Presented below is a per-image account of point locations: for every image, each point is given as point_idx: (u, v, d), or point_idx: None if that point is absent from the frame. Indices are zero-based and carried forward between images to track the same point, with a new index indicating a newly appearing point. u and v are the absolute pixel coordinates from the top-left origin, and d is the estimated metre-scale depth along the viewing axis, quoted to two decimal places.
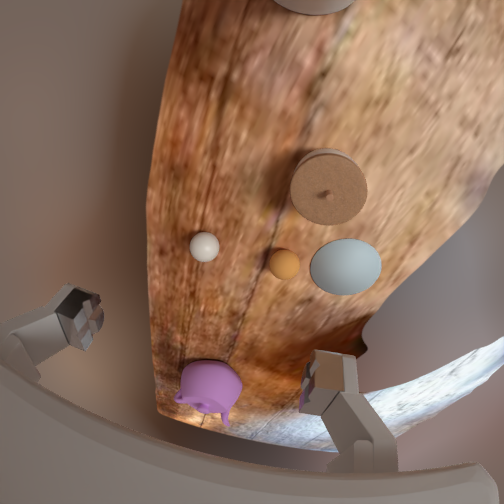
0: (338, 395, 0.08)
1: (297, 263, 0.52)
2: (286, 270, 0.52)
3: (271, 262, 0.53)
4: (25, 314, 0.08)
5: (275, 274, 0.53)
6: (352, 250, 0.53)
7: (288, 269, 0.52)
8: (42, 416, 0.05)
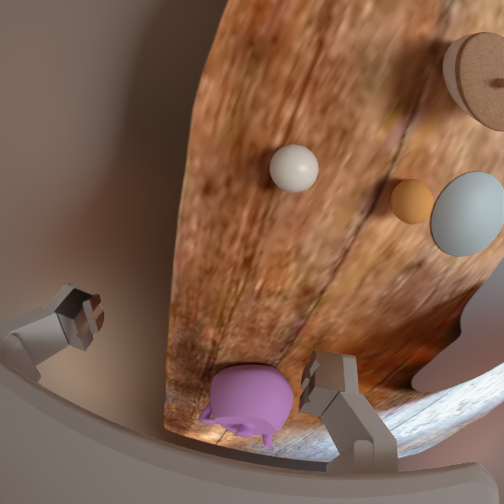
0: (338, 395, 0.08)
1: (432, 198, 0.30)
2: (423, 205, 0.29)
3: (399, 194, 0.31)
4: (25, 314, 0.08)
5: (406, 213, 0.31)
6: (483, 189, 0.31)
7: (425, 205, 0.29)
8: (42, 416, 0.05)
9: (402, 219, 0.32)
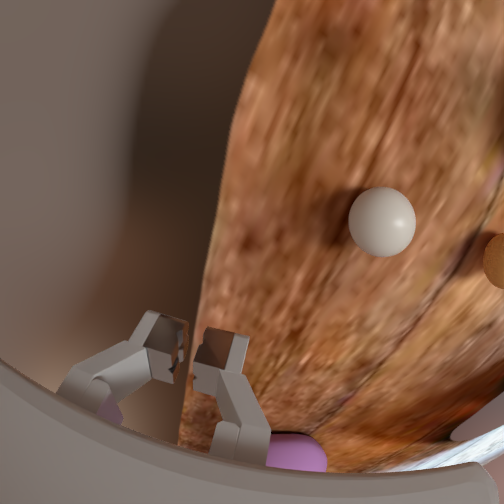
0: (219, 373, 0.08)
1: None
2: None
3: (499, 255, 0.20)
4: (106, 351, 0.08)
5: None
6: None
7: None
8: (42, 416, 0.05)
9: (497, 284, 0.21)
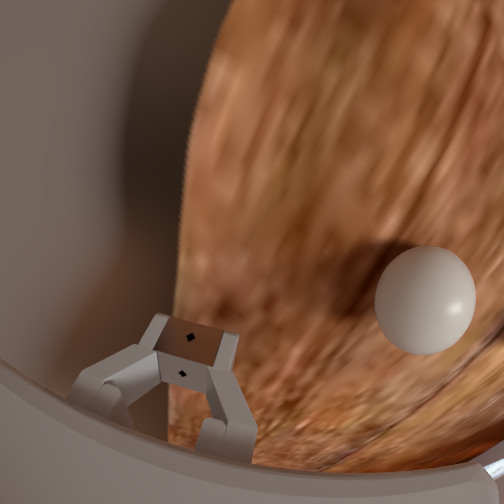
0: (207, 370, 0.08)
1: None
2: None
3: None
4: (115, 355, 0.08)
5: None
6: None
7: None
8: (42, 416, 0.05)
9: None
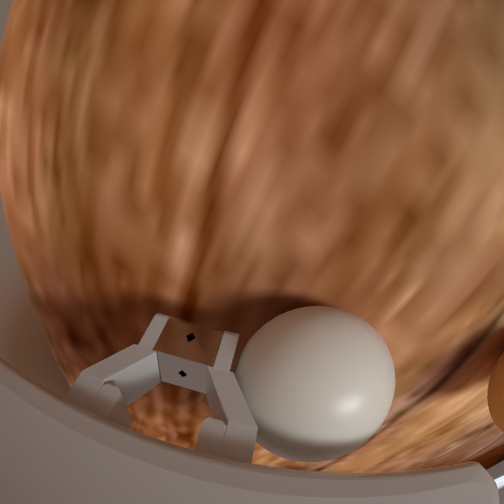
0: (207, 370, 0.08)
1: None
2: None
3: None
4: (115, 355, 0.08)
5: None
6: None
7: None
8: (42, 416, 0.05)
9: None
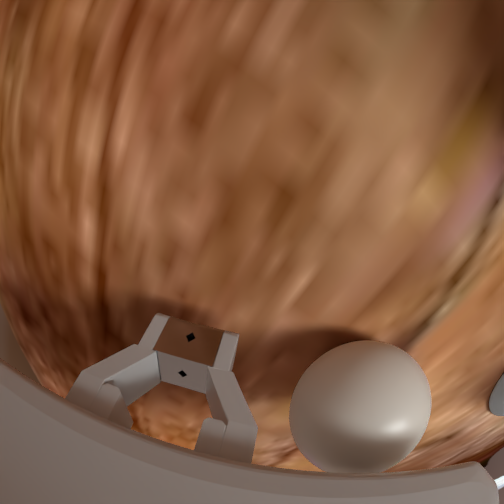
0: (207, 370, 0.08)
1: None
2: None
3: None
4: (115, 355, 0.08)
5: None
6: None
7: None
8: (42, 416, 0.05)
9: None
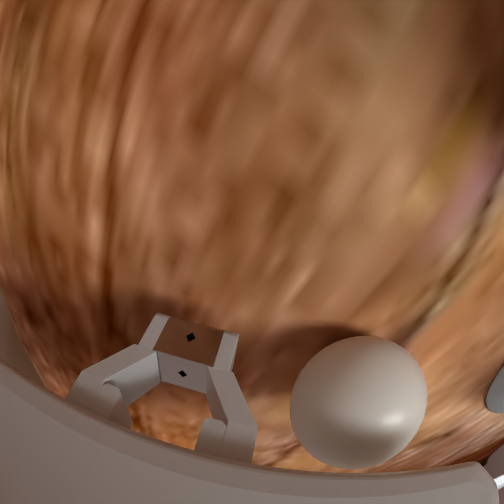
0: (207, 370, 0.08)
1: None
2: None
3: None
4: (115, 355, 0.08)
5: None
6: None
7: None
8: (42, 416, 0.05)
9: None
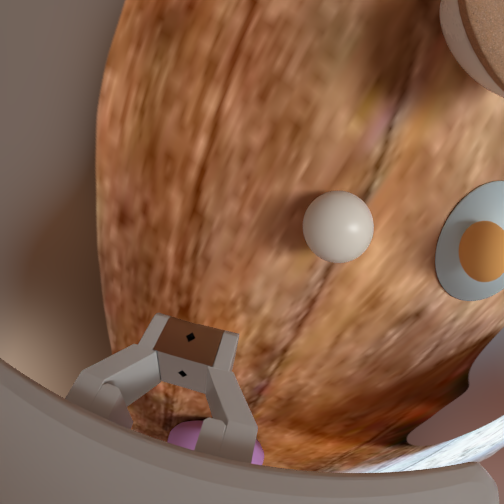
0: (207, 370, 0.08)
1: (472, 228, 0.20)
2: None
3: None
4: (115, 355, 0.08)
5: None
6: None
7: None
8: (42, 416, 0.05)
9: None
